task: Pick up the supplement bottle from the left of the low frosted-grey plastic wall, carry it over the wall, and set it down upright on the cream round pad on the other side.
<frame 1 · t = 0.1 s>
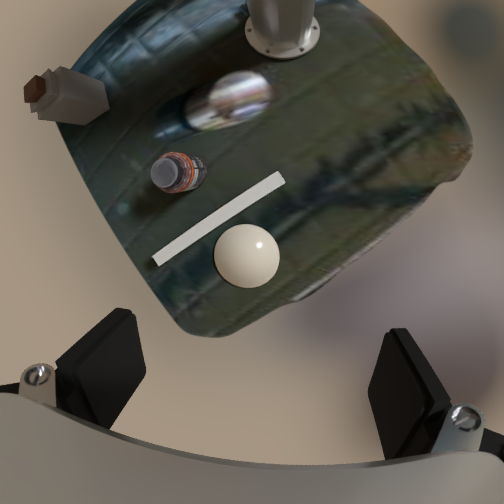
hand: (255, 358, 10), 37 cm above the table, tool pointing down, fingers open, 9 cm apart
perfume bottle: (94, 103, 43), on the table
low wall: (220, 216, 46), on the table
resting pad: (246, 256, 48), on the table
supplement bottle: (191, 172, 45), on the table
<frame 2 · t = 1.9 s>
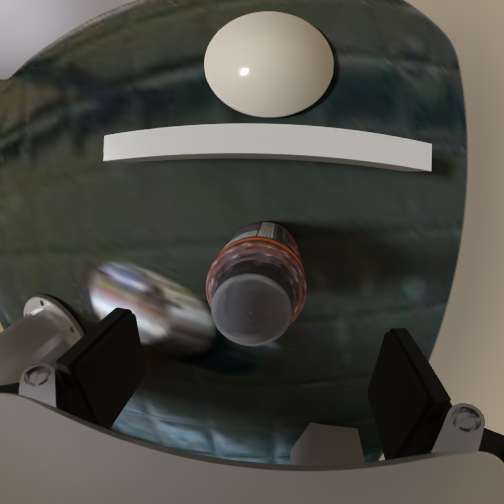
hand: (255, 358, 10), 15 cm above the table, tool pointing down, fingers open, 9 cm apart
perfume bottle: (323, 439, 30), on the table
low wall: (267, 147, 22), on the table
resting pad: (268, 60, 20), on the table
supplement bottle: (263, 253, 24), on the table
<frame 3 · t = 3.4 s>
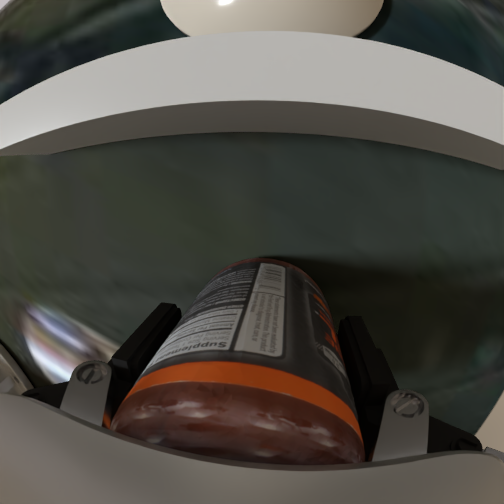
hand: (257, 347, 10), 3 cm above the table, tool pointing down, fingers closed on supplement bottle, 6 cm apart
low wall: (269, 109, 10), on the table
supplement bottle: (263, 313, 13), on the table, touching gripper
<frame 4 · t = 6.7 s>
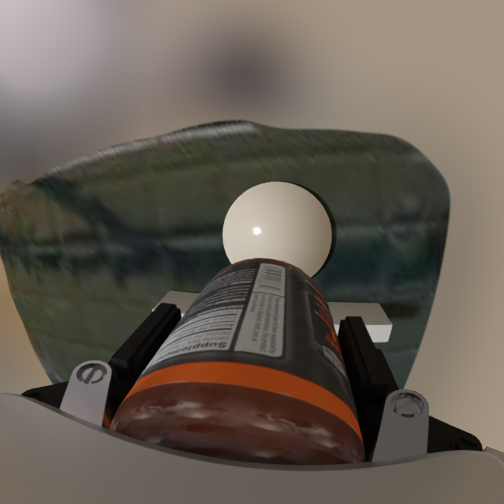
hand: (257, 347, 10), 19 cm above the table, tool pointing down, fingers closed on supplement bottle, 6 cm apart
low wall: (273, 307, 31), on the table
resting pad: (277, 236, 29), on the table
supplement bottle: (263, 313, 13), point 16 cm above the table, touching gripper
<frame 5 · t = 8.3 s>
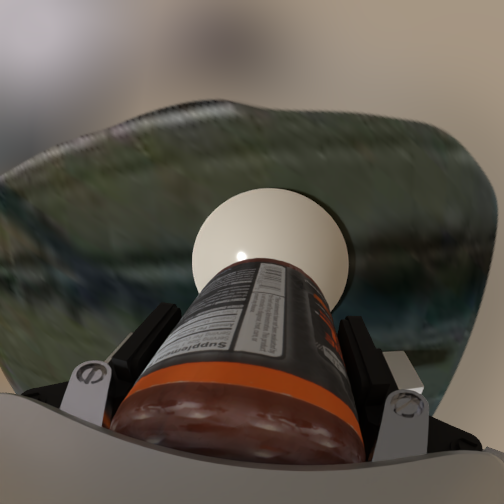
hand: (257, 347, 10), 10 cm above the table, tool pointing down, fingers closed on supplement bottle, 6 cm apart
low wall: (264, 359, 22), on the table
resting pad: (269, 267, 20), on the table
supplement bottle: (263, 313, 13), point 7 cm above the table, touching gripper
when the fingers open (4 cm above the table, at t = 9.8 s): supplement bottle drops 1 cm, resting on resting pad.
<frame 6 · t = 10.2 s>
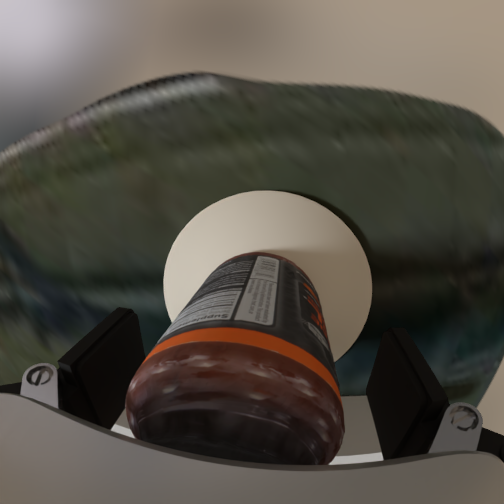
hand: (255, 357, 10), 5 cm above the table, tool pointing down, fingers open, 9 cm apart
low wall: (260, 404, 17), on the table
resting pad: (266, 297, 15), on the table
supplement bottle: (260, 302, 14), resting on resting pad
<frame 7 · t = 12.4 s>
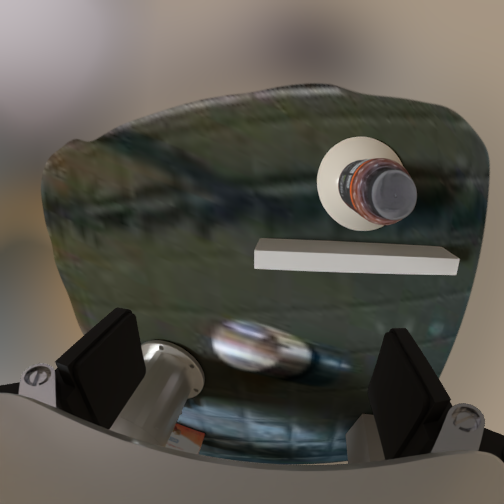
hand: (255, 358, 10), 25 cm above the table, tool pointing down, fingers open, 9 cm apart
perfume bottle: (368, 425, 42), on the table
low wall: (358, 250, 33), on the table
resting pad: (363, 183, 30), on the table
supplement bottle: (361, 185, 30), resting on resting pad
cracker box: (172, 426, 49), on the table
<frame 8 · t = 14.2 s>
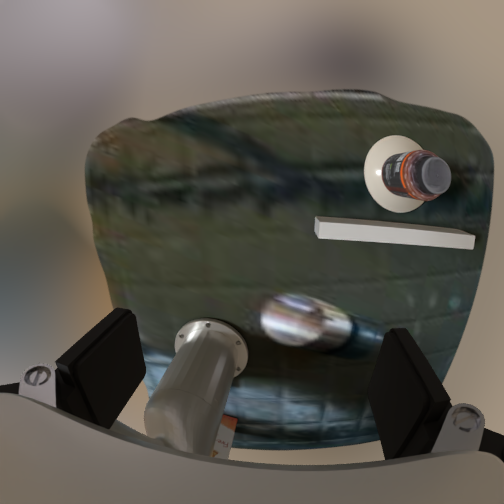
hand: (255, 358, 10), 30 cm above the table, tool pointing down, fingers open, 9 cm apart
low wall: (394, 229, 37), on the table
resting pad: (399, 173, 35), on the table
supplement bottle: (398, 174, 34), resting on resting pad
cracker box: (202, 413, 51), on the table
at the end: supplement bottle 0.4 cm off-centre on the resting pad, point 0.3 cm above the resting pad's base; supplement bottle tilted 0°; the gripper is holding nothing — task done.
